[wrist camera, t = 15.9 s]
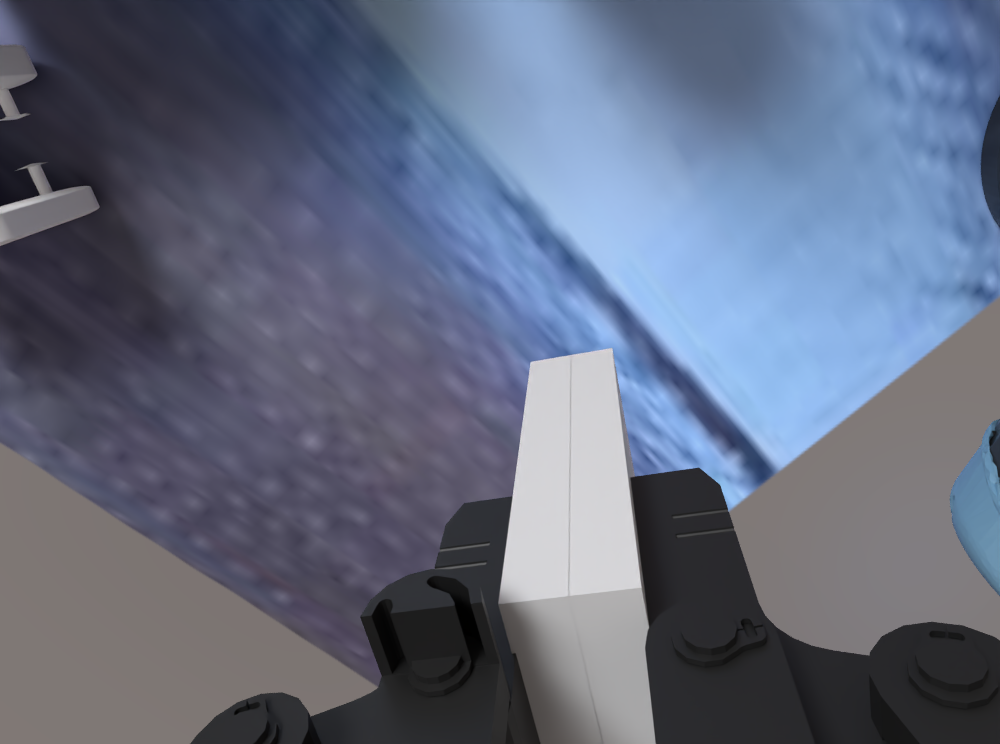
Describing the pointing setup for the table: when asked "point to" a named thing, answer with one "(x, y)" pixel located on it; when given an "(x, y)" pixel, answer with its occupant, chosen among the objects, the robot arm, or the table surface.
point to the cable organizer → (34, 166)
